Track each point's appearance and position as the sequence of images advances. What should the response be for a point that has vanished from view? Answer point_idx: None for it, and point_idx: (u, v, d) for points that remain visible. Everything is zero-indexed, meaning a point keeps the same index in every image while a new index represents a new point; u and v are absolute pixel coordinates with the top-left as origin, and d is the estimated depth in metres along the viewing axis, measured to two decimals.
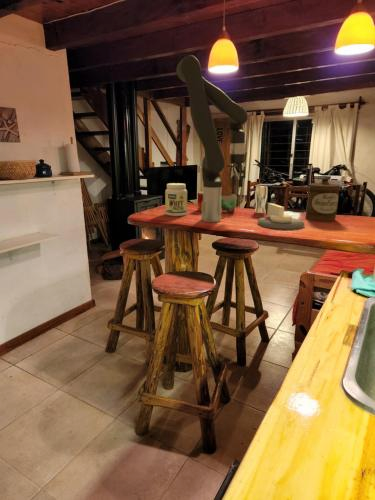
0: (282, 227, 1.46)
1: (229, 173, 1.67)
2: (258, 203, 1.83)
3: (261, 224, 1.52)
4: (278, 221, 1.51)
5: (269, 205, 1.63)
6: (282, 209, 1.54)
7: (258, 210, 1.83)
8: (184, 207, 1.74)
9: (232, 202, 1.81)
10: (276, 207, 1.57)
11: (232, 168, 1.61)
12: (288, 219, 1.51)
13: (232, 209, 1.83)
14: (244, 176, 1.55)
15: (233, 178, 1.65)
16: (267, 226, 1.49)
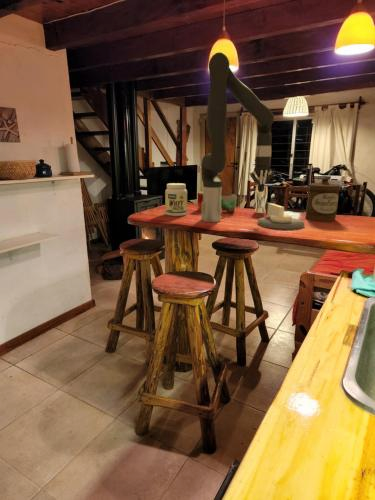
0: (282, 227, 1.46)
1: (256, 181, 1.55)
2: (258, 203, 1.83)
3: (261, 224, 1.52)
4: (278, 221, 1.51)
5: (269, 205, 1.63)
6: (282, 209, 1.54)
7: (258, 210, 1.83)
8: (184, 207, 1.74)
9: (232, 202, 1.81)
10: (276, 207, 1.57)
11: (261, 171, 1.54)
12: (288, 219, 1.51)
13: (232, 209, 1.83)
14: None
15: None
16: (267, 226, 1.49)
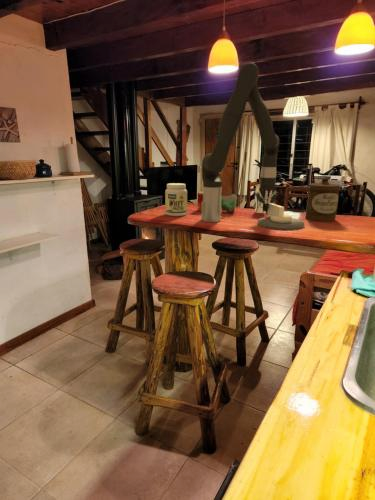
0: (282, 227, 1.46)
1: (261, 201, 1.59)
2: (258, 203, 1.83)
3: (261, 224, 1.52)
4: (278, 221, 1.51)
5: (269, 205, 1.63)
6: (282, 209, 1.54)
7: (258, 210, 1.83)
8: (184, 207, 1.74)
9: (232, 202, 1.81)
10: (276, 207, 1.57)
11: (266, 192, 1.57)
12: (288, 219, 1.51)
13: (232, 209, 1.83)
14: None
15: None
16: (267, 226, 1.49)
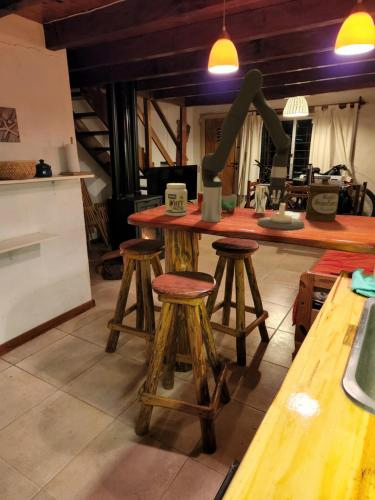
0: (282, 227, 1.46)
1: (268, 199, 1.63)
2: (258, 203, 1.83)
3: (261, 224, 1.52)
4: (273, 220, 1.53)
5: None
6: (282, 209, 1.54)
7: (258, 210, 1.83)
8: (184, 207, 1.74)
9: (232, 202, 1.81)
10: None
11: (274, 191, 1.60)
12: (282, 219, 1.51)
13: (232, 209, 1.83)
14: None
15: None
16: (267, 226, 1.49)
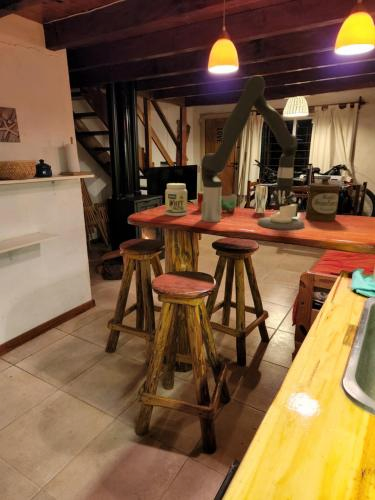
0: (282, 227, 1.46)
1: (275, 200, 1.64)
2: (258, 203, 1.83)
3: (261, 224, 1.52)
4: (270, 219, 1.56)
5: None
6: (282, 209, 1.54)
7: (258, 210, 1.83)
8: (184, 207, 1.74)
9: (232, 202, 1.81)
10: None
11: (279, 191, 1.61)
12: (277, 219, 1.51)
13: (232, 209, 1.83)
14: None
15: None
16: (267, 226, 1.49)
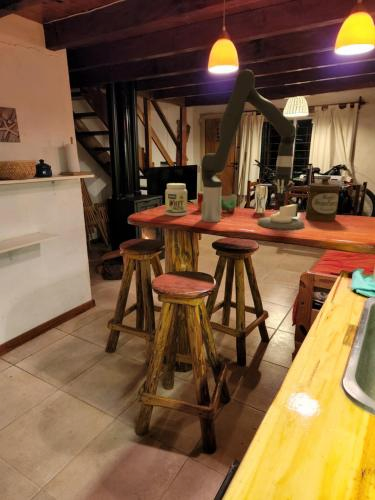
0: (282, 227, 1.46)
1: (274, 189, 1.63)
2: (258, 203, 1.83)
3: (261, 224, 1.52)
4: (270, 219, 1.56)
5: None
6: (282, 209, 1.54)
7: (258, 210, 1.83)
8: (184, 207, 1.74)
9: (232, 202, 1.81)
10: None
11: (278, 180, 1.60)
12: (277, 219, 1.51)
13: (232, 209, 1.83)
14: None
15: None
16: (267, 226, 1.49)
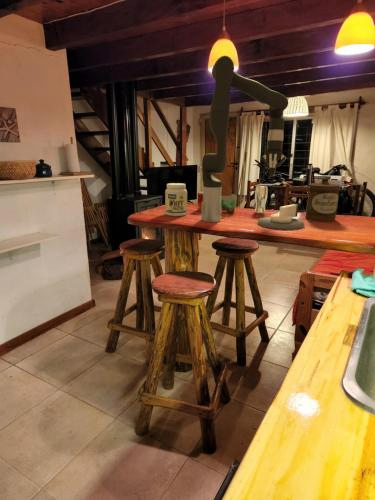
0: (282, 227, 1.46)
1: (265, 164, 1.62)
2: (258, 203, 1.83)
3: (261, 224, 1.52)
4: (270, 219, 1.56)
5: None
6: (282, 209, 1.54)
7: (258, 210, 1.83)
8: (184, 207, 1.74)
9: (232, 202, 1.81)
10: None
11: (270, 155, 1.60)
12: (277, 219, 1.51)
13: (232, 209, 1.83)
14: (279, 165, 1.62)
15: (272, 168, 1.62)
16: (267, 226, 1.49)
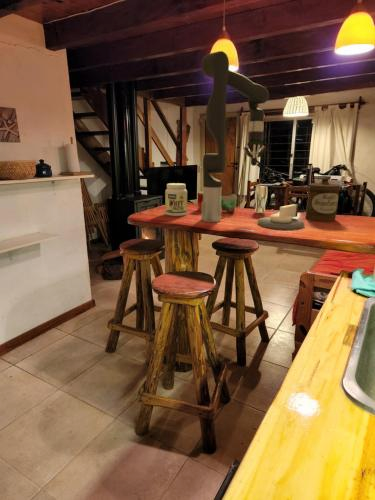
0: (282, 227, 1.46)
1: (249, 155, 1.67)
2: (258, 203, 1.83)
3: (261, 224, 1.52)
4: (270, 219, 1.56)
5: None
6: (282, 209, 1.54)
7: (258, 210, 1.83)
8: (184, 207, 1.74)
9: (232, 202, 1.81)
10: None
11: (254, 146, 1.65)
12: (277, 219, 1.51)
13: (232, 209, 1.83)
14: None
15: None
16: (267, 226, 1.49)
